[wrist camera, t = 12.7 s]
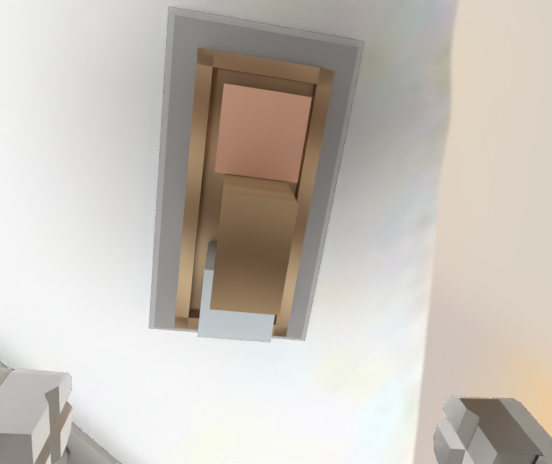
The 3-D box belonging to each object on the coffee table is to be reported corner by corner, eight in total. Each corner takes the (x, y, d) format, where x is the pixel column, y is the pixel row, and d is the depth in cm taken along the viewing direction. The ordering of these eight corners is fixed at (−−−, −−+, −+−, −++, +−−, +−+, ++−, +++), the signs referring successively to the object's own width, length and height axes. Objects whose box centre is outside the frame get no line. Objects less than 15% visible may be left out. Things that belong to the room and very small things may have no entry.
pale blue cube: (208, 241, 25) (204, 269, 22) (274, 248, 26) (281, 276, 22) (202, 300, 27) (197, 336, 23) (265, 306, 27) (270, 342, 23)
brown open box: (201, 50, 23) (181, 30, 14) (325, 71, 24) (378, 65, 15) (179, 307, 28) (153, 411, 19) (281, 316, 29) (302, 419, 20)
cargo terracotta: (225, 83, 22) (224, 83, 19) (299, 95, 23) (312, 97, 19) (217, 157, 24) (214, 172, 20) (287, 167, 24) (297, 183, 20)
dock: (175, 13, 25) (167, 5, 22) (352, 45, 27) (366, 40, 24) (155, 309, 31) (147, 331, 29) (299, 321, 33) (305, 343, 30)
